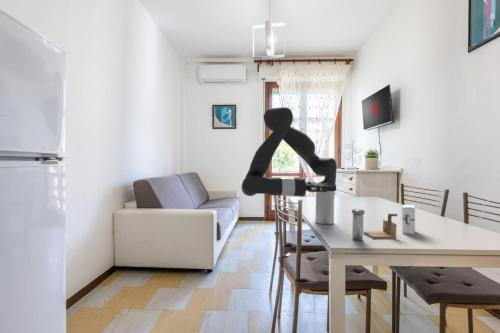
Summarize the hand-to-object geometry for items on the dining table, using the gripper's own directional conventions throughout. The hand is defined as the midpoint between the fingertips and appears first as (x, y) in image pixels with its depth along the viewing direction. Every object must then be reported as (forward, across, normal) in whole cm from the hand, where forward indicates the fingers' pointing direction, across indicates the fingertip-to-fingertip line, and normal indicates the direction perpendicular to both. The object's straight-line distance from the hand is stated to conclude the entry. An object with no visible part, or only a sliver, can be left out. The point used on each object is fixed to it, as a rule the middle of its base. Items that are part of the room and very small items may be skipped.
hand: (331, 187), depth 114 cm
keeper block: (+25, +5, +21) cm, 33 cm away
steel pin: (+11, 0, +21) cm, 24 cm away
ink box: (+40, +11, +21) cm, 47 cm away
